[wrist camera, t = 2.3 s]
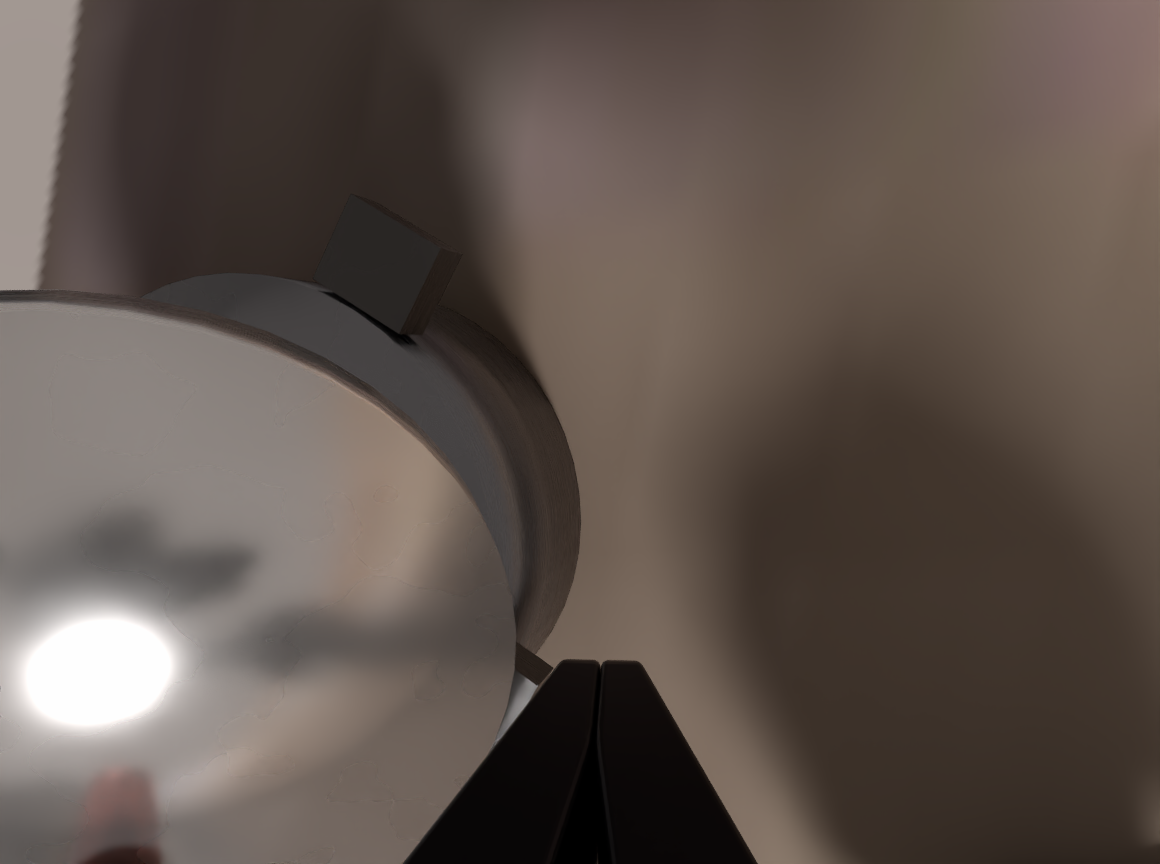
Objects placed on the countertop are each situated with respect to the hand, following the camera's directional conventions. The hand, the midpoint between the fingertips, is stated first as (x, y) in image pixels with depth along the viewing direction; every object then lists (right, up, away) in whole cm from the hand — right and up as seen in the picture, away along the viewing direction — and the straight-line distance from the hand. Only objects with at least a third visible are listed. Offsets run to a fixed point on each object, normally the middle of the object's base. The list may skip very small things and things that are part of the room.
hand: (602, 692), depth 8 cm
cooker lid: (-8, -1, +5) cm, 10 cm away
